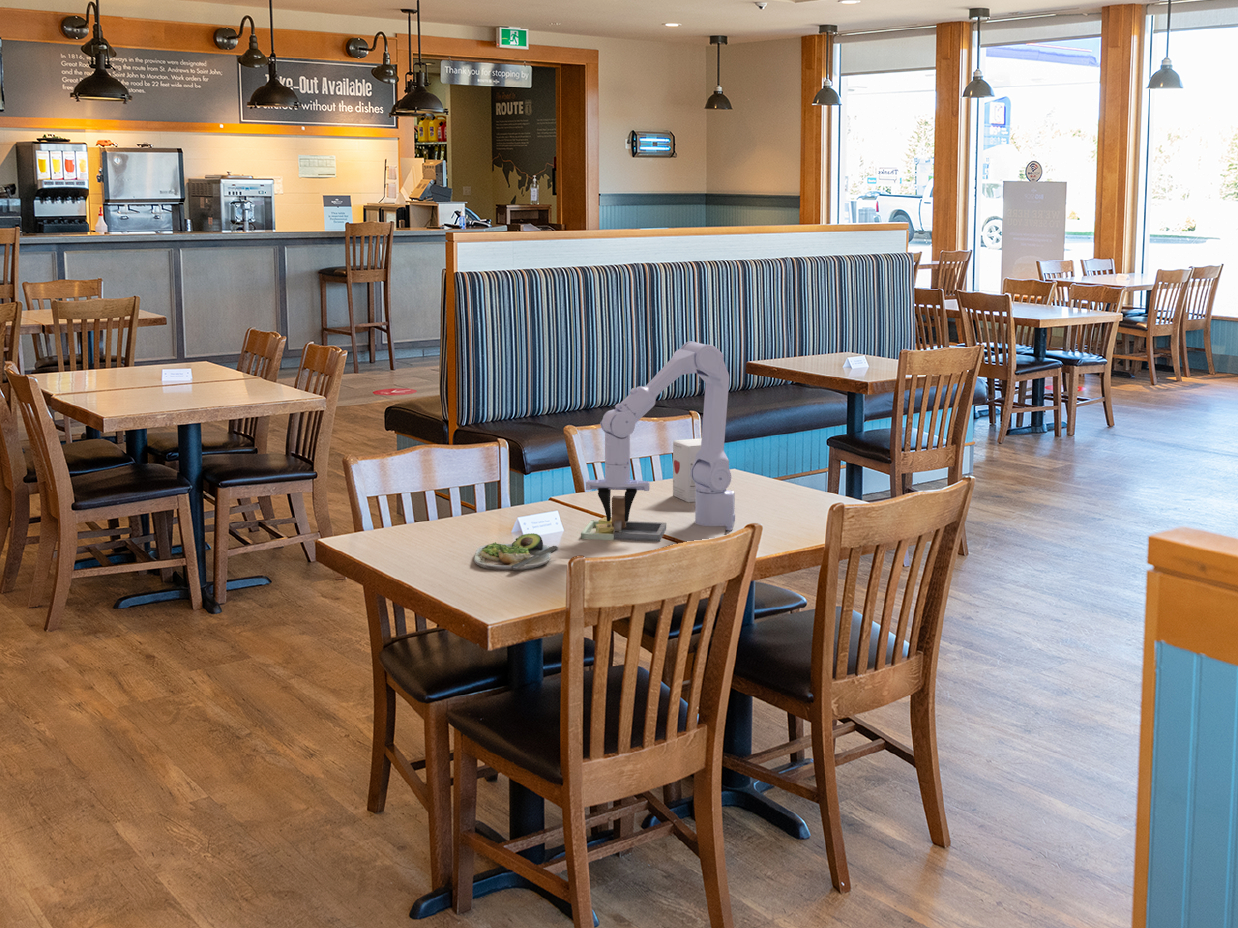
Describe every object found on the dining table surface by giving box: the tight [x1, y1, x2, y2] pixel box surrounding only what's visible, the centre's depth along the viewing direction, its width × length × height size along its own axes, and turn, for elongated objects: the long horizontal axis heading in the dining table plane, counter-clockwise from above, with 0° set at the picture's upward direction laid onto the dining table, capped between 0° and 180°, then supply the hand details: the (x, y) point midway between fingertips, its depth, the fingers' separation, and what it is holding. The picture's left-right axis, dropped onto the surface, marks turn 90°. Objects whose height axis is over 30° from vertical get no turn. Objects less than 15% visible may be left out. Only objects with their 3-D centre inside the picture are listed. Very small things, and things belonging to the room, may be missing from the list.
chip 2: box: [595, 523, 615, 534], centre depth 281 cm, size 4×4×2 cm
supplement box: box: [672, 437, 702, 503], centre depth 321 cm, size 9×9×15 cm
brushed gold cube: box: [598, 516, 612, 524], centre depth 286 cm, size 4×4×2 cm
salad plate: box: [473, 533, 559, 571], centre depth 264 cm, size 19×18×5 cm
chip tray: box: [580, 520, 615, 541], centre depth 284 cm, size 8×12×2 cm, turn 170°
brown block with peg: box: [611, 495, 626, 532], centre depth 282 cm, size 3×8×7 cm, turn 174°
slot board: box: [613, 520, 667, 542], centre depth 282 cm, size 10×11×2 cm
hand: (617, 520), depth 283 cm, fingers open, 3 cm apart
